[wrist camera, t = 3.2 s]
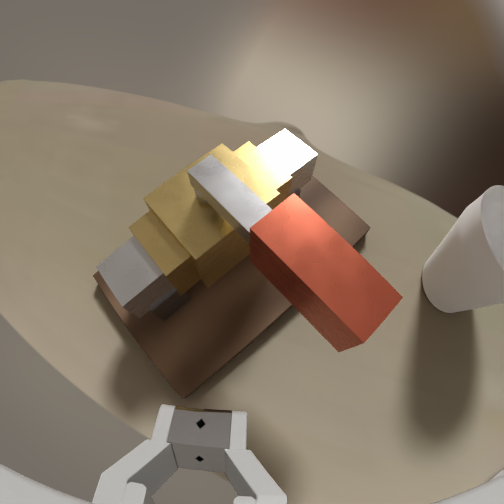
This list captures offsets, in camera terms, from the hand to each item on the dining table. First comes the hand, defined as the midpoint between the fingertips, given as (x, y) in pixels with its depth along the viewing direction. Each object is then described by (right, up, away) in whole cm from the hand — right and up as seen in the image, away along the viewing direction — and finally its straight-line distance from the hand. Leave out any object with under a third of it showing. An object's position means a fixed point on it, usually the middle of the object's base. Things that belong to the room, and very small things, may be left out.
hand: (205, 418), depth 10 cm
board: (0, +5, +20) cm, 20 cm away
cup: (+22, +3, +19) cm, 29 cm away
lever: (+3, +6, +9) cm, 11 cm away
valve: (-1, +6, +18) cm, 20 cm away
